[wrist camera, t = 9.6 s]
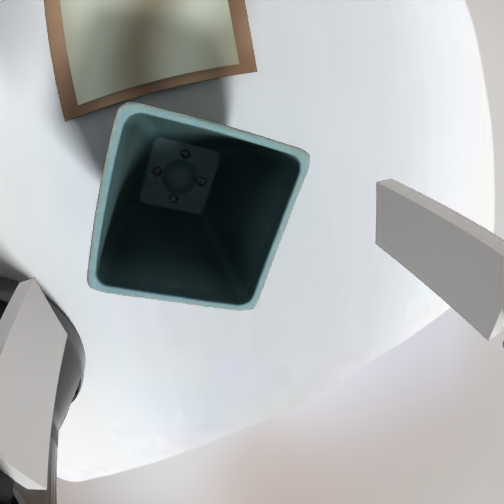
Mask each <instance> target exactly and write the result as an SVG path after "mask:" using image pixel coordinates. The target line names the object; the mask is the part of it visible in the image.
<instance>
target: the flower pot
mask: <svg viewBox="0 0 504 504" xmlns="http://www.w3.org/2000/svg"><path fill="white" fill-rule="evenodd" d="M186 150H187V151H189V153H190V155H189V156H188V157H187V158H185V157H183V156H182V153H183V151H186ZM309 164H310V155H309V154H308V153H307V152H306V151H305V150H302V149H300V148H298V147H295V146H291V145H288V144H285V143H282V142H278V141H275V140H273V139H269V138H266V137H263V136H259V135H256V134H253V133H250V132H246V131H243V130H239V129H236V128H232V127H230V126H226V125H222V124H219V123H215V122H212V121H208V120H204V119H201V118H197V117H193V116H189V115H186V114H182V113H178V112H174V111H170V110H166V109H162V108H158V107H154V106H151V105H147V104H142V103H137V102H126V103H124V104H122V105H121V106H120V107H119V109H118V111H117V113H116V116H115V119H114V123H113V128H112V132H111V136H110V140H109V145H108V150H107V153H106V159H105V163H104V168H103V173H102V179H101V184H100V190H99V195H98V201H97V207H96V212H95V219H94V226H93V232H92V240H91V247H90V256H89V264H88V271H87V282H88V285H89V286H90V288H93V289H95V290H97V291H101V292H106V293H111V294H118V295H124V296H133V297H141V298H147V299H149V298H150V299H156V300H162V301H169V302H178V303H185V304H192V305H199V306H204V307H214V308H223V309H230V310H238V311H243V310H251V309H253V308H254V307H255V306H256V304H257V302H258V300H259V298H260V295H261V292H262V289H263V287H264V284H265V281H266V279H267V276H268V274H269V270H270V268H271V265H272V262H273V260H274V257H275V254H276V251H277V249H278V246H279V244H280V241H281V239H282V236H283V233H284V231H285V228H286V225H287V223H288V220H289V217H290V215H291V212H292V209H293V207H294V204H295V202H296V199H297V196H298V194H299V191H300V189H301V186H302V184H303V182H304V179H305V177H306V175H307V172H308V168H309ZM155 168H159V169H160V170H161V173H160V174H159V175H155V174H154V169H155ZM200 178H204V179H205V183H204V184H203V185H200V184H198V180H199V179H200ZM171 195H176V196H177V200H176V201H175V202H172V201H171V200H170V196H171Z"/></svg>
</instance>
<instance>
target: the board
mask: <svg viewBox="0 0 504 504" xmlns="http://www.w3.org/2000/svg"><path fill="white" fill-rule="evenodd" d="M44 6H45V16H46V24H47V32H48V39H49V45H50V52H51V58H52V63H53V69H54V74H55V79H56V84H57V89H58V94H59V98H60V103H61V107H62V111H63V115H64V119H65V121H67V120H70V119H72V118H75V117H78V116H80V115H83V114H86V113H89V112H91V111H94V110H97V109H100V108H103V107H106V106H109V105H112V104H115V103H118V102H122V101H125V100H128V99H131V98H135V97H138V96H142V95H145V94H149V93H153V92H157V91H160V90H164V89H168V88H172V87H177V86H181V85H185V84H190V83H194V82H199V81H204V80H209V79H215V78H220V77H226V76H231V75H238V74H244V73H251V72H257V67H256V62H255V56H254V50H253V44H252V39H251V33H250V28H249V22H248V17H247V11H246V6H245V1H244V0H44Z"/></svg>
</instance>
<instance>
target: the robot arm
mask: <svg viewBox="0 0 504 504" xmlns="http://www.w3.org/2000/svg"><path fill="white" fill-rule="evenodd" d="M375 244H376V245H378V246H379V247H380V248H382V249H383V250H384V251H385V252H387V253H388V254H389V255H390V256H392V257H393V258H394V259H395V260H397V261H398V262H399V263H400V264H401V265H403V266H404V267H405V268H406V269H408V270H409V271H410V272H411V273H412V274H414V275H415V276H416V277H417V278H418V279H420V280H421V281H422V282H423V283H424V284H425V285H427V286H428V287H429V288H430V289H431V290H432V291H434V292H435V293H436V294H437V295H438V296H439V297H441V298H442V299H443V300H444V301H445V302H446V303H447V304H449V305H450V306H451V307H452V308H453V309H454V310H455V311H456V312H457V313H459V314H460V315H461V316H462V317H463V318H464V319H465V320H466V321H468V323H470V324H471V325H472V326H473V327H474V328H475V329H476V330H477V331H478V332H479V333H480V334H481V335H482V336H483V337H484V338H486V339H487V340H488V341H489V340H490V339H492V338H493V337H494V336H495V335H497V334H498V333H499V332H501V331H502V329H503V326H504V240H502V239H501V238H500V237H498V236H497V235H495V234H493V233H492V232H490V231H489V230H487V229H485V228H484V227H482V226H480V225H478V224H477V223H475V222H473V221H471V220H470V219H468V218H466V217H464V216H463V215H461V214H459V213H457V212H455V211H454V210H452V209H450V208H448V207H446V206H444V205H443V204H441V203H439V202H437V201H435V200H433V199H431V198H429V197H427V196H425V195H423V194H422V193H420V192H418V191H416V190H414V189H412V188H409V187H407V186H405V185H403V184H401V183H399V182H397V181H395V180H393V179H388V180H383V181H379V182H376V243H375ZM503 348H504V342H503ZM84 368H85V353H84V348H83V345H82V342H81V339H80V337H79V335H78V333H77V332H76V330H75V328H74V327H73V325H72V324H71V322H70V321H69V320H68V319H67V317H66V316H65V315H64V314H63V313H62V312H61V311H60V310H59V309H58V308H57V307H56V306H55V305H54V304H53V303H51V302H50V301H49V300H48V299H46V297H45V295H44V294H43V292H42V290H41V288H40V286H39V284H38V282H37V281H36V279H35V278H32V279H29V280H26V281H23V282H20V283H18V282H15V281H12V280H8V279H4V278H0V504H57V493H56V481H57V480H56V479H57V446H58V434H59V429H60V427H61V425H62V423H63V421H64V419H65V417H66V415H67V412H68V410H69V406H70V404H71V403H72V402H73V401H74V400H75V398H76V397H77V395H78V393H79V392H80V389H81V386H82V383H83V377H84Z"/></svg>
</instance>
